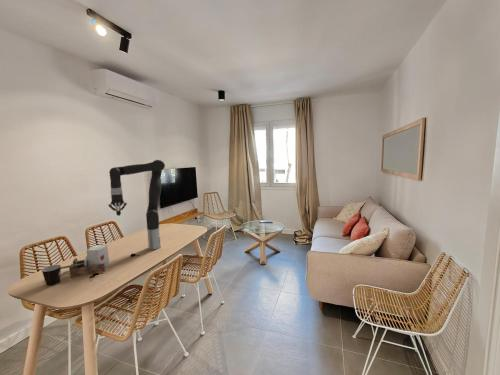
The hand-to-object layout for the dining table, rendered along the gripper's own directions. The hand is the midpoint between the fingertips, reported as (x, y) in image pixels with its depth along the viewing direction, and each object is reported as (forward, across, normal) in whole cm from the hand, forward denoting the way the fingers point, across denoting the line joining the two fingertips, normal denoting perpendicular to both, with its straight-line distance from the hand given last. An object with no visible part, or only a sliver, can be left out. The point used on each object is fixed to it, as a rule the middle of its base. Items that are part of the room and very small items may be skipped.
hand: (118, 215), depth 171 cm
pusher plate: (+31, +28, +17) cm, 46 cm away
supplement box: (+32, +14, +17) cm, 39 cm away
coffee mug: (+32, +36, +28) cm, 56 cm away
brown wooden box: (+32, +18, +17) cm, 40 cm away
